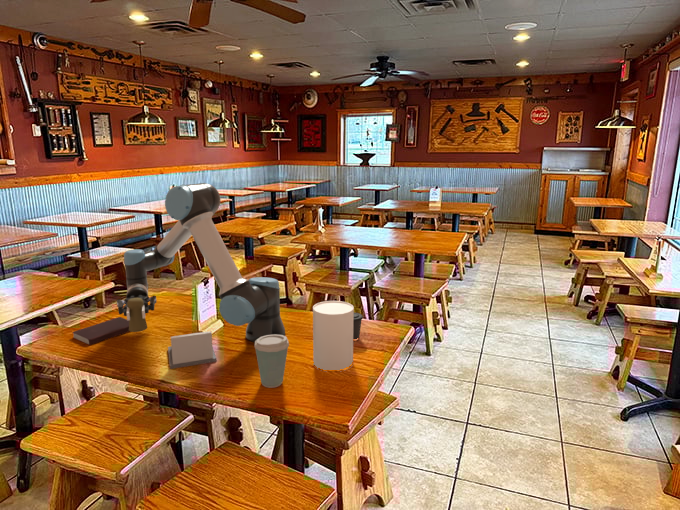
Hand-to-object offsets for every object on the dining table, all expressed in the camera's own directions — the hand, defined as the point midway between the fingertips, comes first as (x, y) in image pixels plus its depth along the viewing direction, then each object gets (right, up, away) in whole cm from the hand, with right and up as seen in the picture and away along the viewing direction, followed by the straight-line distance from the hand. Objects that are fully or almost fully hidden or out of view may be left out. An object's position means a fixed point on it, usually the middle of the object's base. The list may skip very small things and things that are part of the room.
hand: (135, 315), depth 154 cm
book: (-24, -11, +28) cm, 39 cm away
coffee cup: (+73, -12, +24) cm, 78 cm away
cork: (-2, -6, +6) cm, 9 cm away
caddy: (+16, -15, +9) cm, 24 cm away
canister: (+66, -17, +4) cm, 68 cm away
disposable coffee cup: (+47, -20, -10) cm, 52 cm away
